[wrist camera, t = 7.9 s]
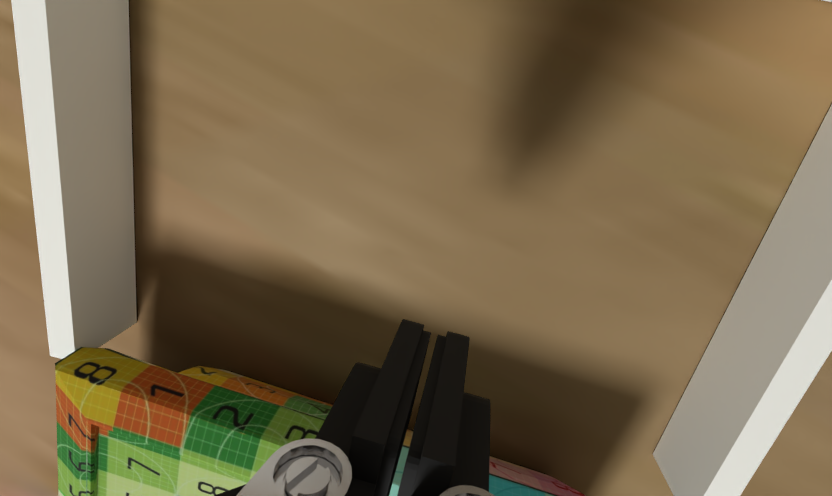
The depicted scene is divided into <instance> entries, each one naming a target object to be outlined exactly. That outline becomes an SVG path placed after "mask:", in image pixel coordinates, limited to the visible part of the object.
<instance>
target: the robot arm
mask: <svg viewBox="0 0 832 496" xmlns="http://www.w3.org/2000/svg"><path fill="white" fill-rule="evenodd" d="M423 328H424V325H423V324H419V323H416V322H412V321H408V320H405V319H403V320H402V322H401V324H400V327H399V329H398V331H397V333H396V336H395V338H394V340H393V343H392V345H391V347H390V350H389V352H388V354H387V357H386V359H385V361H384V364H383V366H382V368H381V369H380V368H377V367H373V366H370V365H366V364H363V363H359V362H357V363H356V364H355V366H354V367H353V369H352V371H351V373H350V375H349V376H348V378H347V380H346V382H345V384H344V386H343V387H342V389H341V391H340V393H339V395H338V397H337V399H336V400H335V402H334V404H333V406H332V408H331V410H330V412H329V413H328V415H327V417H326V419H325V421H324V423H323V425H322V426H321V428H320V430H319V432H318V434H317V436H316V437H315V439H307V438H306V439H301V440H296V441H292V442H290V443H288V444H286V445H284V446H282V447H280V448H279V449H278V450H277V451H276V452H275V453H273V454H272V455H271V456H270V458H269V459H268V460H267V461H266V462H265V463H264V464H263V466H262V467H261V468H260V469H259V470H258V471H257V472H256V474H255V475H254V476H253V477H252V478H251V479H250V480H249V482H248V483H247V484H245V485H242V486H239V487H237V488H234V489H231V490H228V491H225V492H223V493H220V494H217V495H214V496H389V494H390V490H391V487H392V483H393V479H394V476H395V472H396V468H397V465H398V461H399V457H400V454H401V450H402V446H403V443H404V439H405V435H406V432H407V428H408V424H409V420H410V416H411V412H412V408H413V404H414V400H415V396H416V392H417V388H418V384H419V380H420V376H421V372H422V368H423V363H424V359H425V355H426V351H427V347H428V343H429V339H430V335H431V333H430V332H426V331H423ZM468 347H469V337H467V336H464V335H460V334H456V333H453V332H449V331H448V332H447V336H446V337H445V336H441V335H438V336H437V340H436V344H435V348H434V352H433V356H432V360H431V364H430V368H429V372H428V376H427V380H426V384H425V387H424V391H423V395H422V399H421V403H420V407H419V411H418V415H417V419H416V423H415V427H414V431H413V435H412V439H411V443H410V447H409V451H408V455H407V459H406V462H405V466H404V470H403V474H402V478H401V482H400V486H399V490H398V494H397V496H495V495H493V494H491V493H489V459H490V400H489V399H486V398H482V397H479V396H475V395H472V394H468V393H465V392H464V383H465V374H466V365H467V356H468Z"/></svg>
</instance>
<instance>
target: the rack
mask: <svg viewBox="0 0 832 496" xmlns="http://www.w3.org/2000/svg"><path fill="white" fill-rule="evenodd" d="M11 1H12V10H13V19H14V29H15V38H16V47H17V56H18V65H19V75H20V84H21V93H22V102H23V111H24V121H25V130H26V139H27V148H28V157H29V167H30V176H31V185H32V194H33V203H34V213H35V222H36V231H37V240H38V249H39V259H40V268H41V277H42V286H43V295H44V305H45V314H46V323H47V332H48V341H49V351H50V356H53V357H56V358H60V359H63V358H65V357H66V356H68V355H69V354H71V353H72V352H74V351H76V350H77V349H79V348H80V347H90V348H99V347H100V346H102V345H103V344H105V343H106V342H108V341H109V340H111V339H112V338H114V337H115V336H117V335H118V334H120V333H121V332H123V331H124V330H126V329H128V328H129V327H131V326H132V325H134V324H135V323H137V312H136V272H135V233H134V194H133V155H132V115H131V76H130V37H129V0H11ZM823 1H828V2H832V0H823ZM831 351H832V105H831V107H830V109H829V111H828V113H827V115H826V116H825V118H824V120H823V122H822V124H821V126H820V128H819V130H818V132H817V134H816V136H815V138H814V140H813V142H812V144H811V146H810V148H809V150H808V152H807V154H806V156H805V158H804V159H803V161H802V163H801V165H800V167H799V169H798V171H797V173H796V175H795V177H794V179H793V181H792V183H791V185H790V187H789V189H788V191H787V193H786V195H785V197H784V199H783V200H782V202H781V204H780V206H779V208H778V210H777V212H776V214H775V216H774V218H773V220H772V222H771V224H770V226H769V228H768V230H767V232H766V234H765V236H764V238H763V240H762V241H761V243H760V245H759V247H758V249H757V251H756V253H755V255H754V257H753V259H752V261H751V263H750V265H749V267H748V269H747V271H746V273H745V275H744V277H743V279H742V281H741V283H740V284H739V286H738V288H737V290H736V292H735V294H734V296H733V298H732V300H731V302H730V304H729V306H728V308H727V310H726V312H725V314H724V316H723V318H722V320H721V322H720V324H719V325H718V327H717V329H716V331H715V333H714V335H713V337H712V339H711V341H710V343H709V345H708V347H707V349H706V351H705V353H704V355H703V357H702V359H701V361H700V363H699V365H698V367H697V368H696V370H695V372H694V374H693V376H692V378H691V380H690V382H689V384H688V386H687V388H686V390H685V392H684V394H683V396H682V398H681V400H680V402H679V404H678V406H677V408H676V409H675V411H674V413H673V415H672V417H671V419H670V421H669V423H668V425H667V427H666V429H665V431H664V433H663V435H662V437H661V439H660V441H659V443H658V445H657V447H656V449H655V450H654V452H653V456H654V458H655V459H656V461H657V463H658V465H659V467H660V469H661V471H662V473H663V475H664V477H665V479H666V481H667V483H668V485H669V487H670V489H671V491H672V493H673V495H674V496H740V495H741V493H742V492H743V490H744V489H745V487H746V485H747V484H748V482H749V481H750V479H751V477H752V476H753V474H754V473H755V471H756V470H757V468H758V466H759V465H760V463H761V462H762V460H763V458H764V457H765V455H766V454H767V452H768V451H769V449H770V447H771V446H772V444H773V443H774V441H775V439H776V438H777V436H778V435H779V433H780V431H781V430H782V428H783V427H784V425H785V424H786V422H787V420H788V419H789V417H790V416H791V414H792V412H793V411H794V409H795V408H796V406H797V405H798V403H799V401H800V400H801V398H802V397H803V395H804V393H805V392H806V390H807V389H808V387H809V386H810V384H811V382H812V381H813V379H814V378H815V376H816V374H817V373H818V371H819V370H820V368H821V367H822V365H823V363H824V362H825V360H826V359H827V357H828V355H829V354H830V352H831Z"/></svg>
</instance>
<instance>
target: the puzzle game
mask: <svg viewBox="0 0 832 496" xmlns="http://www.w3.org/2000/svg"><path fill="white" fill-rule="evenodd" d="M55 370H56V410H57V450H58V490H59V496H214V495H217V494H220V493H223V492H225V491H228V490H231V489H234V488H237V487H239V486H242V485H245V484H247V483H248V482H249V480H250V479H251V478H252V477H253V476H254V475H255V474H256V472H257V471H258V470H259V469H260V468H261V467H262V466H263V464H264V463H265V462H266V461H267V460H268V459H269V458H270V456H271V455H272V454H273V453H275V452H276V451H277V450H278V449H279V448H280V447H282V446H284V445H286V444H288V443H290V442H292V441H296V440H301V439H306V438H307V439H315V437H316V436H317V434H318V432H319V430H320V428H321V426H322V425H323V423H324V421H325V419H326V417H327V415H328V413H329V412H330V410H331V408H332V406H333V405H331V404H328V403H325V402H322V401H319V400H316V399H313V398H310V397H307V396H304V395H300V394H297V393H294V392H291V391H288V390H285V389H282V388H279V387H276V386H273V385H270V384H267V383H264V382H261V381H258V380H254V379H251V378H248V377H245V376H242V375H239V374H236V373H233V372H230V371H227V370H222V369H215V368H209V367H203V366H195V367H193V368H190V369H187V370H184V371H181V372H179V373H176V372H173V371H170V370H168V369H165V368H162V367H159V366H156V365H153V364H151V363H148V362H145V361H142V360H139V359H136V358H133V357H131V356H128V355H125V354H122V353H119V352H116V351H114V350H111V349H106V348H90V347H80V348H79V349H77V350H76V351H74V352H72V353H71V354H69V355H68V356H66V357H65V358H63V359H61V360H60V361H58V362H57V363H55ZM412 435H413V431H411V430H408V429H407V432H406V435H405V439H404V443H403V446H402V450H401V454H400V457H399V461H398V465H397V468H396V472H395V476H394V479H393V483H392V487H391V490H390V494H389V496H397V494H398V490H399V486H400V482H401V478H402V474H403V470H404V466H405V462H406V459H407V455H408V451H409V447H410V443H411V439H412ZM489 493H491V494H493V495H495V496H585V495H584V494H582V493H581V492H579V491H577V490H575V489H573V488H572V487H570V486H568V485H566V484H564V483H563V482H561V481H559V480H557V479H555V478H554V477H552V476H549V475H546V474H543V473H540V472H537V471H534V470H531V469H528V468H525V467H521V466H518V465H515V464H512V463H509V462H506V461H503V460H500V459H497V458H494V457H491V456H490V459H489Z"/></svg>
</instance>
